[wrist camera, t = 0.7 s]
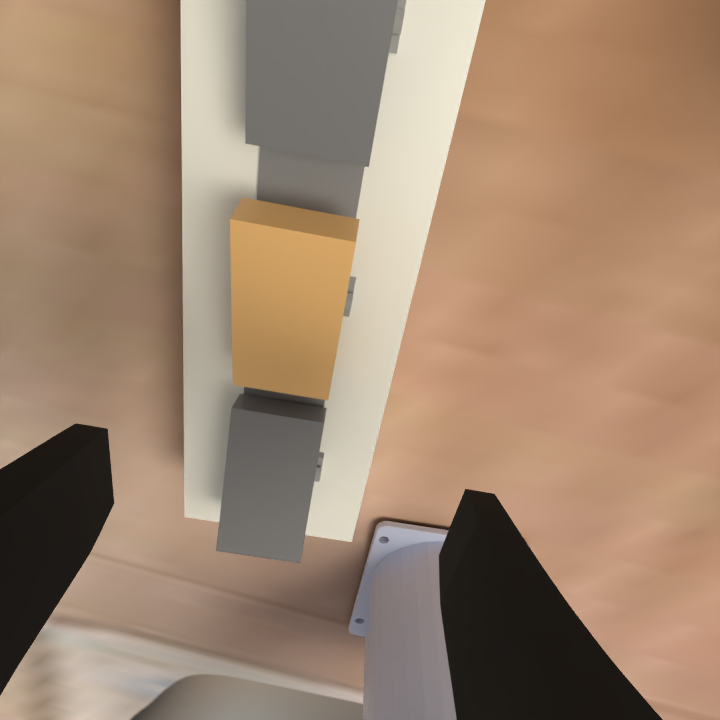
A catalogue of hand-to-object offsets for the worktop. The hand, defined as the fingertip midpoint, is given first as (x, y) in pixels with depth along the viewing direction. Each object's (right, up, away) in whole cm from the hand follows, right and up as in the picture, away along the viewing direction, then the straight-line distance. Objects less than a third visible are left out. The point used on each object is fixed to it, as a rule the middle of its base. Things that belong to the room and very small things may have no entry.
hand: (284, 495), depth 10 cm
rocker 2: (-2, -1, +8) cm, 8 cm away
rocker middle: (0, +5, +5) cm, 7 cm away
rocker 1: (+1, +11, +1) cm, 11 cm away
